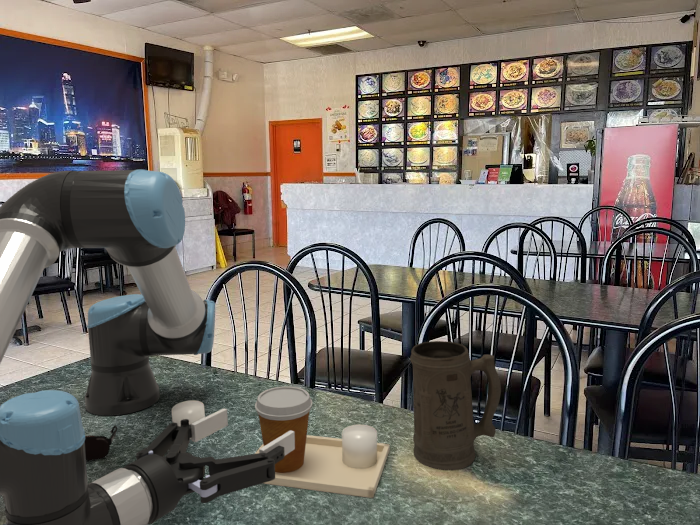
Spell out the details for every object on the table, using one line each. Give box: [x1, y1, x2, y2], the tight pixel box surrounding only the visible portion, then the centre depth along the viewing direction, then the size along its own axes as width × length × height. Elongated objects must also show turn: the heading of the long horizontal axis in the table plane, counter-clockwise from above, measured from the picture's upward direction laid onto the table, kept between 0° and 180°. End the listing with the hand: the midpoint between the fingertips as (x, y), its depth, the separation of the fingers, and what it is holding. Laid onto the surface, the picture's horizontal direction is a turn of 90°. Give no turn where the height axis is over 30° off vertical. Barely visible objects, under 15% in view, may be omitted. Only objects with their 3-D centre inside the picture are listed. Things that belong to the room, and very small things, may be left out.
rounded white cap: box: [171, 400, 206, 440], centre depth 105 cm, size 6×6×5 cm
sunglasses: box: [85, 425, 118, 463], centre depth 100 cm, size 10×12×5 cm
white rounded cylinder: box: [341, 424, 378, 469], centre depth 94 cm, size 6×6×5 cm
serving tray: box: [254, 434, 391, 499], centre depth 93 cm, size 15×22×2 cm
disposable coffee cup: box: [254, 386, 313, 473], centre depth 92 cm, size 10×10×12 cm
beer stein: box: [409, 340, 502, 471], centre depth 95 cm, size 15×11×20 cm
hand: (257, 427), depth 83 cm, fingers open, 13 cm apart
